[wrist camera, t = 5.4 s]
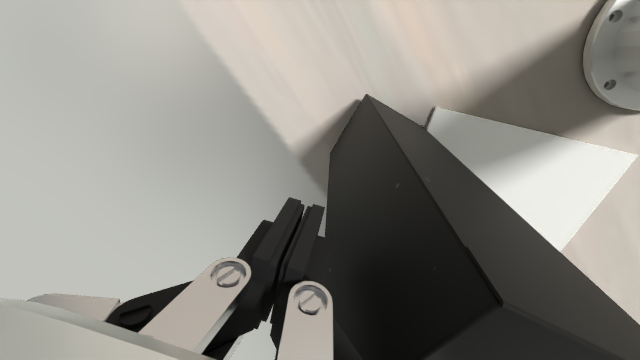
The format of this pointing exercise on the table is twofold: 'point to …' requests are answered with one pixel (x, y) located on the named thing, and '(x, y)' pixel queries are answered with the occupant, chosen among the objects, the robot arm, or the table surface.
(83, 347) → the robot arm
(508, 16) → the table surface
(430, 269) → the black rectangular box
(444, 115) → the white mat
